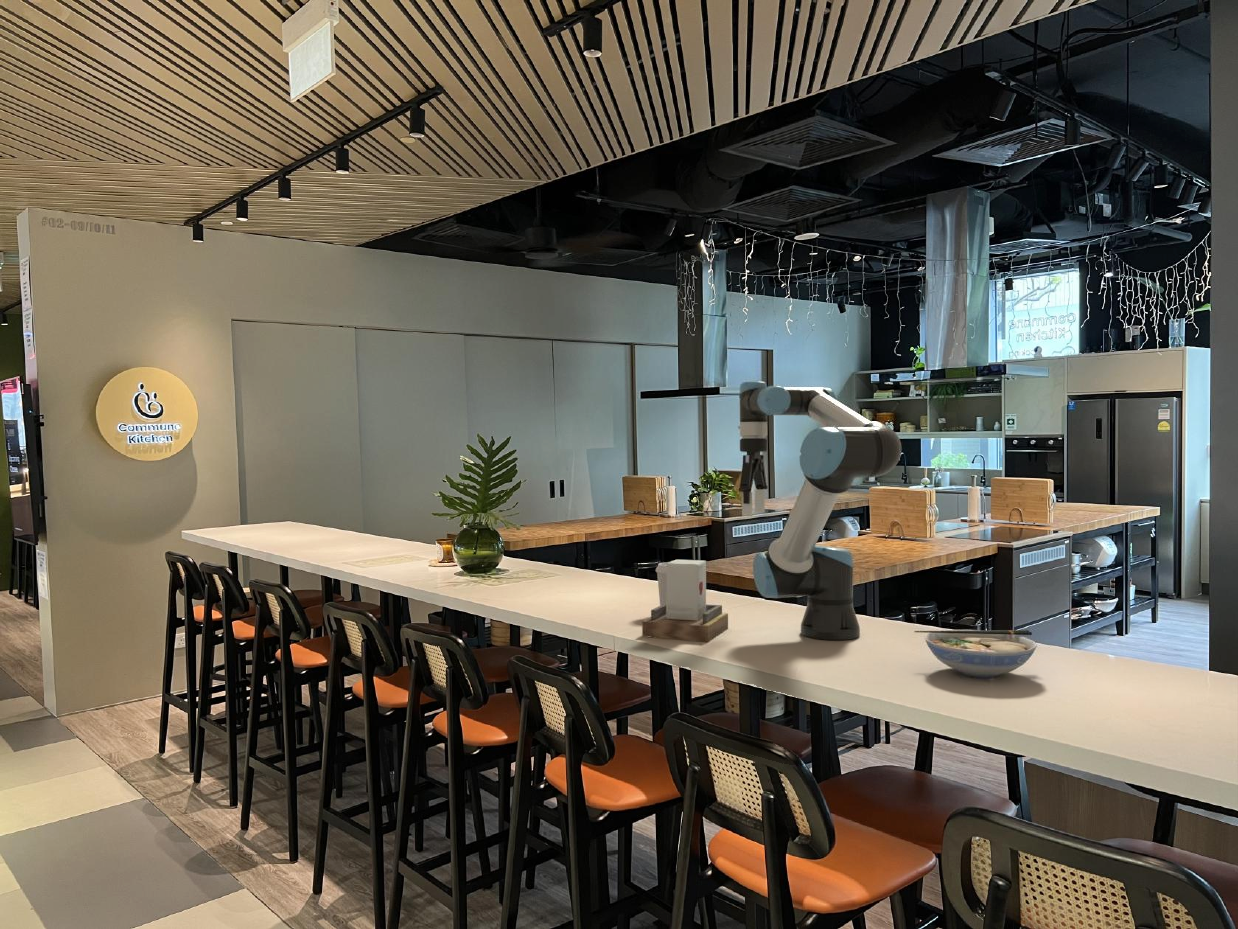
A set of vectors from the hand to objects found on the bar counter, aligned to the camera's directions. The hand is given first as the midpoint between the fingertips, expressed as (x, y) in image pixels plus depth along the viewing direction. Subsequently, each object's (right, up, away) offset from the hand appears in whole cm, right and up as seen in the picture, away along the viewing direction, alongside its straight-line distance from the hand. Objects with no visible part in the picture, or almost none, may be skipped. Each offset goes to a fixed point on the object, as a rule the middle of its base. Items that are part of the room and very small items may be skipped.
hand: (753, 514), depth 250 cm
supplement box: (-19, -27, -10) cm, 35 cm away
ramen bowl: (+41, -32, -55) cm, 75 cm away
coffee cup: (-22, -31, +15) cm, 41 cm away
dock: (-20, -31, -10) cm, 38 cm away
